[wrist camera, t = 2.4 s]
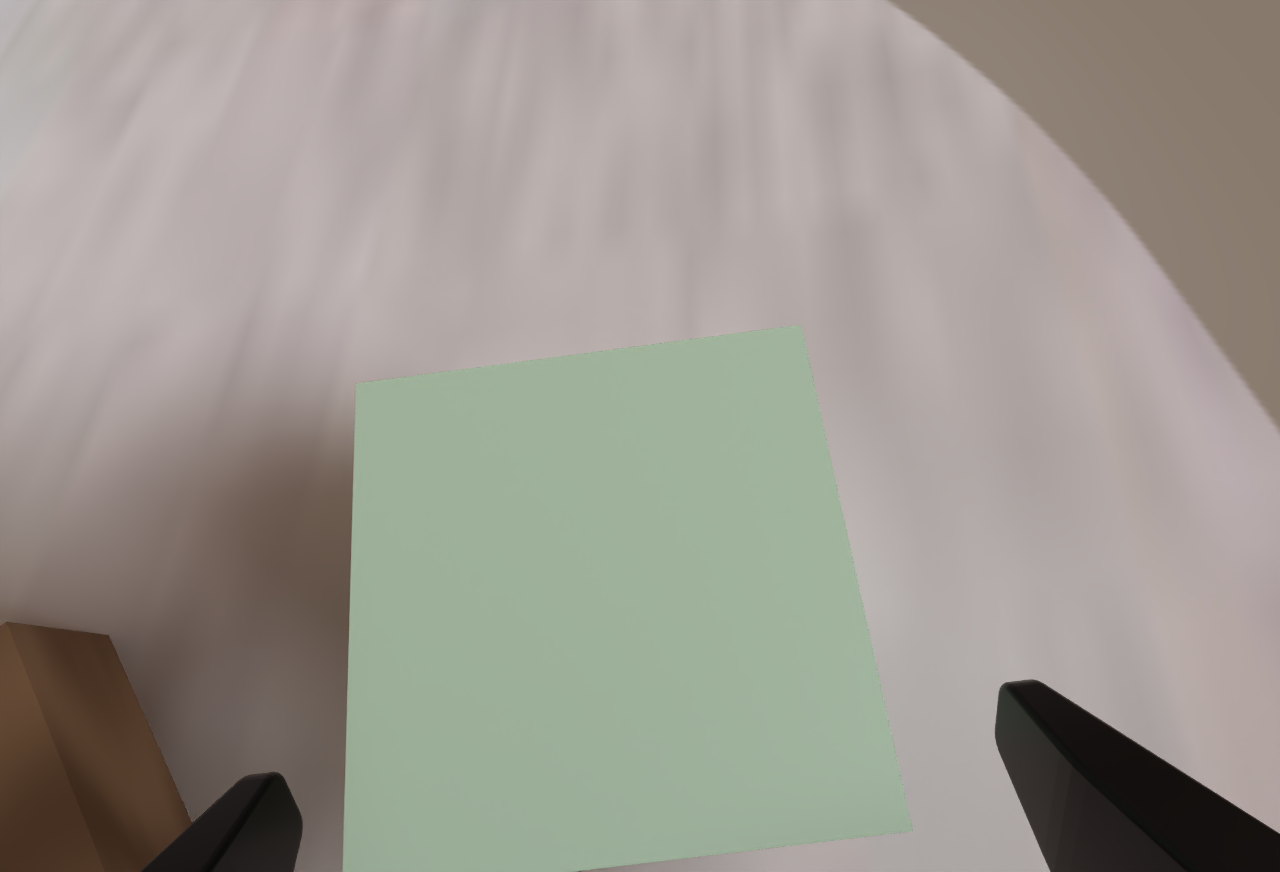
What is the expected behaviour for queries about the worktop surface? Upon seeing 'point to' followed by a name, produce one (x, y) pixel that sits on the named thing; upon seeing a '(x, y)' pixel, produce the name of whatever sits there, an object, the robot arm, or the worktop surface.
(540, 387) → the green block
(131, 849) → the walnut riser
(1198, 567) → the worktop surface
